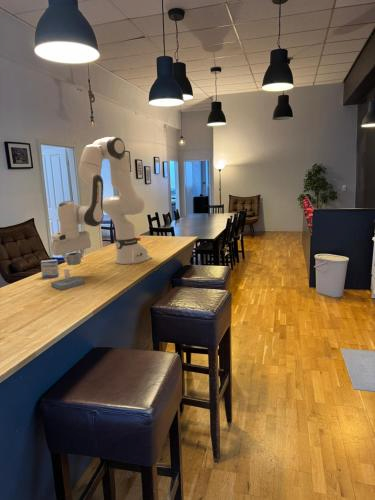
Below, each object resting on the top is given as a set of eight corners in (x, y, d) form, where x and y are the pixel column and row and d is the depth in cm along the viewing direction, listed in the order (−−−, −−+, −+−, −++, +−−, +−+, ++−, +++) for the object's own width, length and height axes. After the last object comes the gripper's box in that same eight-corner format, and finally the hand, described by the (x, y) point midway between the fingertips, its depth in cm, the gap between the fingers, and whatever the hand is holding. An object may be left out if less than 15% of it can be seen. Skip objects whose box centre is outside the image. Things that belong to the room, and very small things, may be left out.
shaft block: (74, 280, 175) (72, 265, 173) (85, 283, 168) (83, 268, 167) (51, 286, 166) (49, 271, 165) (61, 290, 160) (59, 274, 158)
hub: (76, 260, 184) (75, 251, 183) (83, 262, 180) (81, 253, 179) (65, 263, 180) (64, 254, 179) (71, 265, 176) (70, 256, 174)
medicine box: (42, 278, 181) (40, 262, 179) (43, 276, 185) (41, 260, 183) (58, 276, 183) (56, 260, 181) (59, 274, 187) (57, 258, 185)
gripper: (85, 229, 185) (88, 254, 189) (48, 236, 171) (52, 263, 175) (91, 230, 181) (94, 256, 185) (54, 238, 167) (58, 265, 170)
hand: (74, 259), depth 180 cm, fingers closed on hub, 6 cm apart
